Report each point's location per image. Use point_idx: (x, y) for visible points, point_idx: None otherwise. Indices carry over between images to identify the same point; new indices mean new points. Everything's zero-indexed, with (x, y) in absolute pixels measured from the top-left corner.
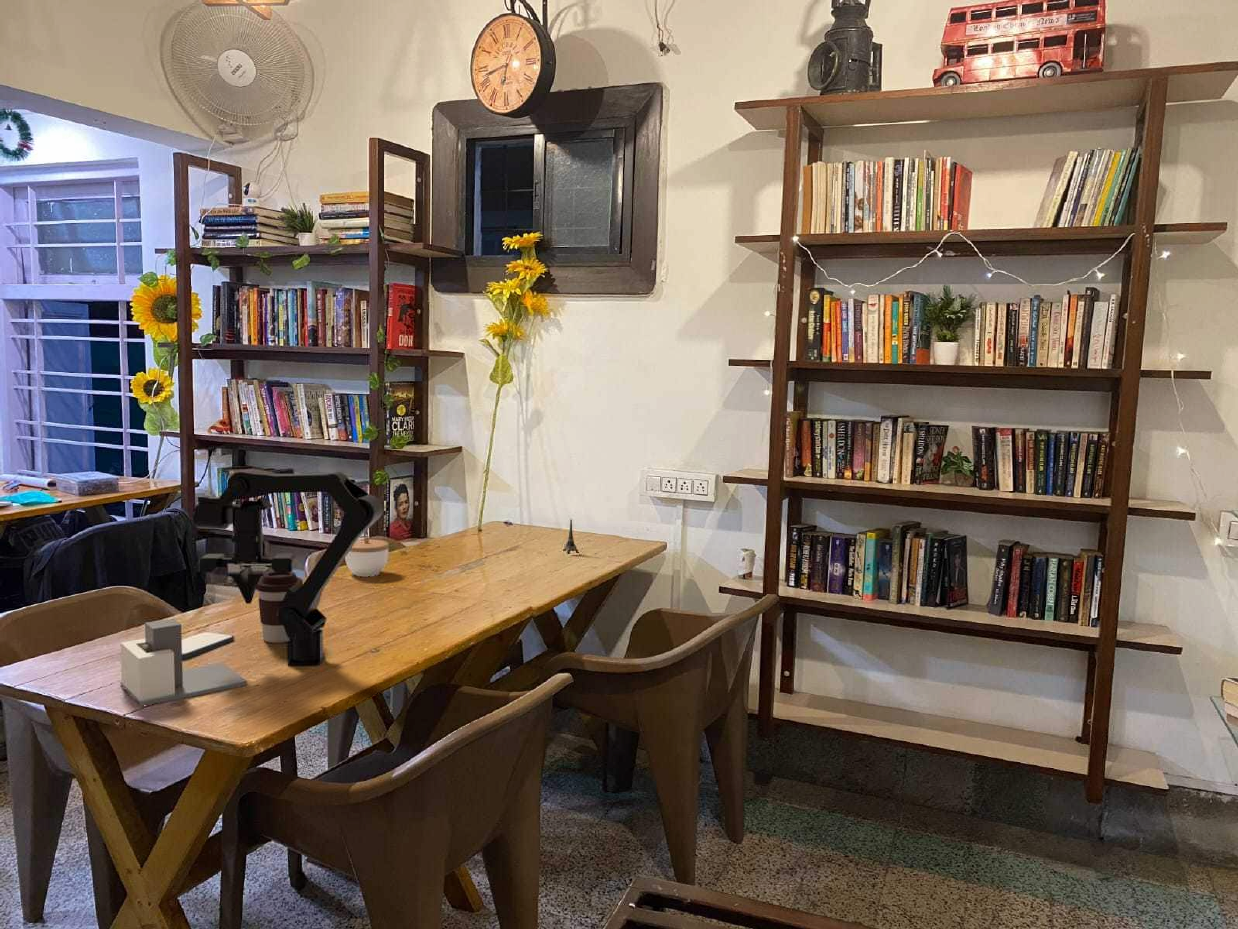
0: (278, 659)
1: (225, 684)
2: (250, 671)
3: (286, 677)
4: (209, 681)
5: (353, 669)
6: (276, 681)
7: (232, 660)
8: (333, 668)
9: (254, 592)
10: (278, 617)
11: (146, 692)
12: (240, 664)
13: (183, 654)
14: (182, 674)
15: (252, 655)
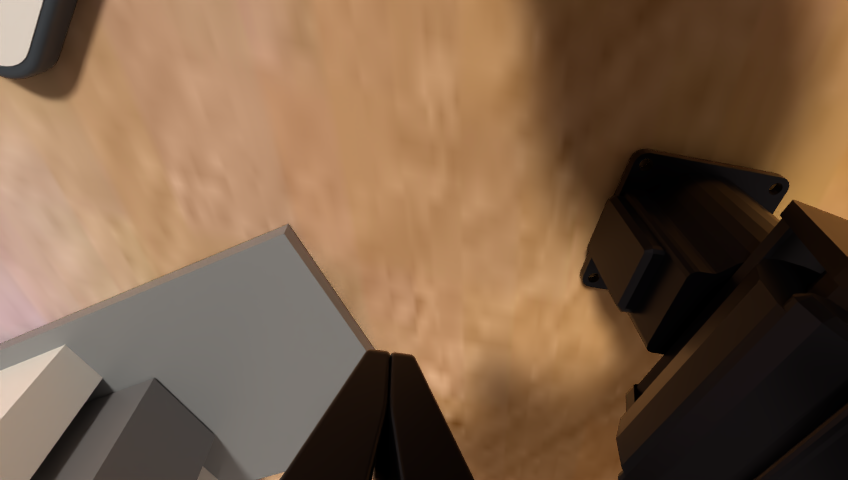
0: (549, 176)
1: None
2: (423, 304)
3: (555, 382)
4: (293, 416)
5: None
6: (518, 407)
7: (319, 142)
8: None
9: (457, 459)
10: (622, 452)
11: None
12: (370, 211)
13: (19, 77)
14: (199, 473)
15: (416, 75)
